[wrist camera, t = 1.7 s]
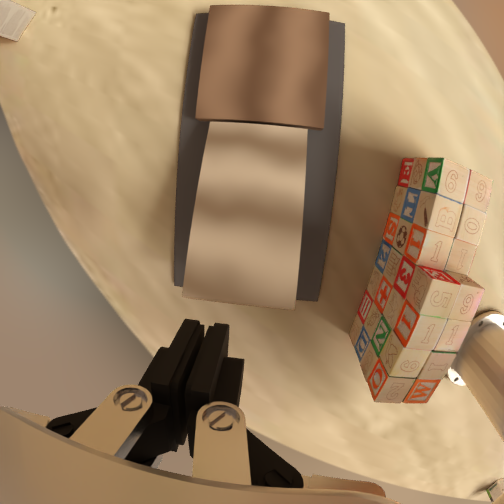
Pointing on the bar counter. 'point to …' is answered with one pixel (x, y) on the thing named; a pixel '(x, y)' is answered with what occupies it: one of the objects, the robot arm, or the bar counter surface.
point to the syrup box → (496, 490)
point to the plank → (248, 216)
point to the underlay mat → (317, 164)
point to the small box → (14, 19)
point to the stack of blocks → (422, 280)
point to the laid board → (264, 66)
